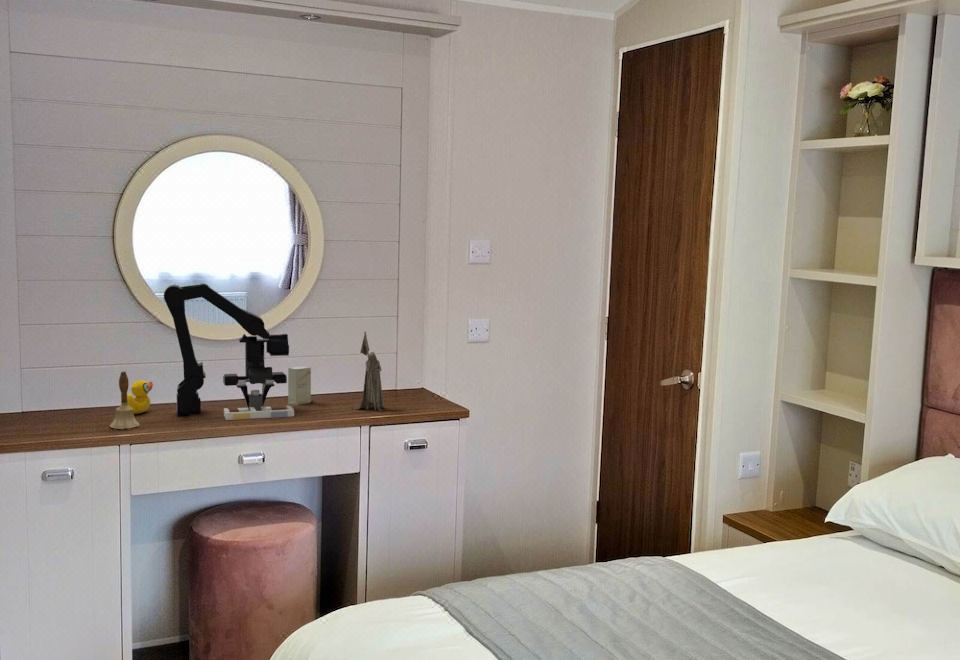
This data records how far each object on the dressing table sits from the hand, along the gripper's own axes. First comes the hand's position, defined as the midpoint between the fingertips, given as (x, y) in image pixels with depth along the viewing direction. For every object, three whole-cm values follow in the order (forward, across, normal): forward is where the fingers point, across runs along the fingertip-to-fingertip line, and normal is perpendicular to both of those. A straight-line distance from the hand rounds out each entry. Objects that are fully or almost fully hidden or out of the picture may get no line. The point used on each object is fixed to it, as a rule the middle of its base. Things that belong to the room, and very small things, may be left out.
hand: (255, 406), depth 294 cm
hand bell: (+2, -38, -12) cm, 40 cm away
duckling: (+2, -34, +6) cm, 35 cm away
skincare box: (+2, +15, +8) cm, 17 cm away
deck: (+2, 0, 0) cm, 2 cm away
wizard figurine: (+2, +35, -6) cm, 35 cm away
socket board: (+2, 0, -10) cm, 10 cm away
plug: (+1, 0, 0) cm, 1 cm away
